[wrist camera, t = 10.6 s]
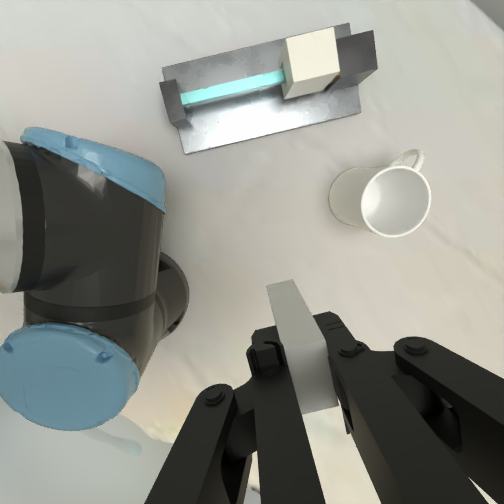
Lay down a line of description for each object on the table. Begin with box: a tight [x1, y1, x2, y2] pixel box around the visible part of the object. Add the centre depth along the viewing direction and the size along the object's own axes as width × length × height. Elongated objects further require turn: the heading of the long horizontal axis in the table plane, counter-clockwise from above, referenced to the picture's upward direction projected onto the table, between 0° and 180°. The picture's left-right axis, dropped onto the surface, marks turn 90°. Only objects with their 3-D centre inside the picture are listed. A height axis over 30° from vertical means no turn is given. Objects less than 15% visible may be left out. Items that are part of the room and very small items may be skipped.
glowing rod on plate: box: [159, 23, 378, 154], centre depth 39 cm, size 25×11×7 cm, turn 103°
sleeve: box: [278, 27, 340, 99], centre depth 36 cm, size 5×4×7 cm
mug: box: [329, 149, 431, 238], centre depth 40 cm, size 12×8×12 cm
